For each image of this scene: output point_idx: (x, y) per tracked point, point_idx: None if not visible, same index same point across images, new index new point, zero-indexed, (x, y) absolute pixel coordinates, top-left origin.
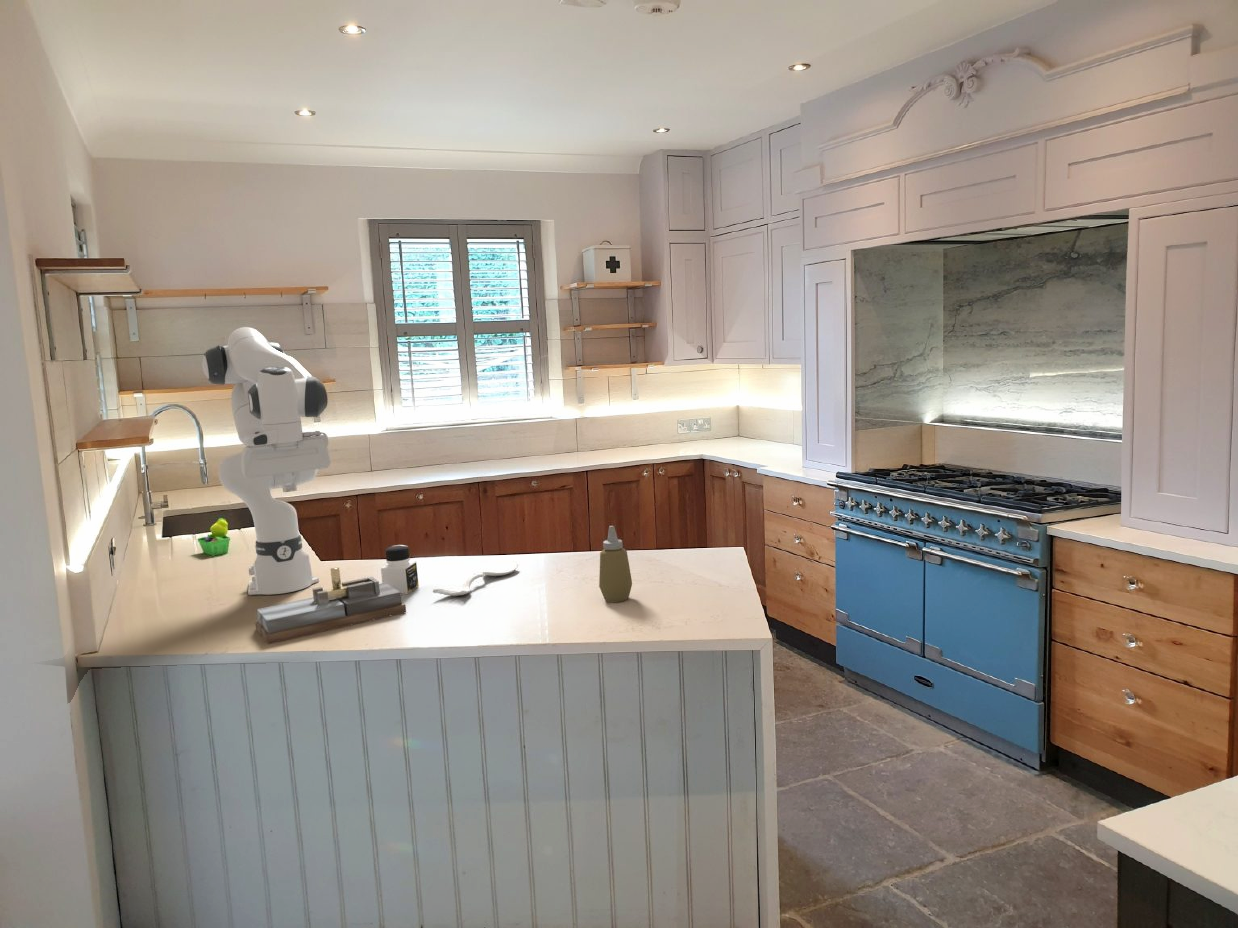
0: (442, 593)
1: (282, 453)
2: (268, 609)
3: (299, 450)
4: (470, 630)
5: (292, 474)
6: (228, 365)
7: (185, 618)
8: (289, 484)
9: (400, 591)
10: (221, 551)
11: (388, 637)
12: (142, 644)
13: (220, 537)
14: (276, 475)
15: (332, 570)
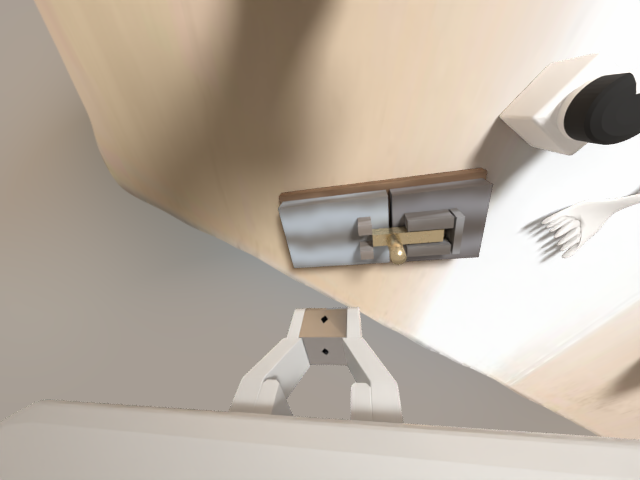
0: (549, 231)
1: None
2: (294, 221)
3: None
4: (482, 335)
5: (352, 407)
6: None
7: (156, 42)
8: (326, 363)
9: (524, 138)
10: None
11: (410, 309)
12: (149, 167)
13: None
14: (237, 408)
15: (392, 261)
